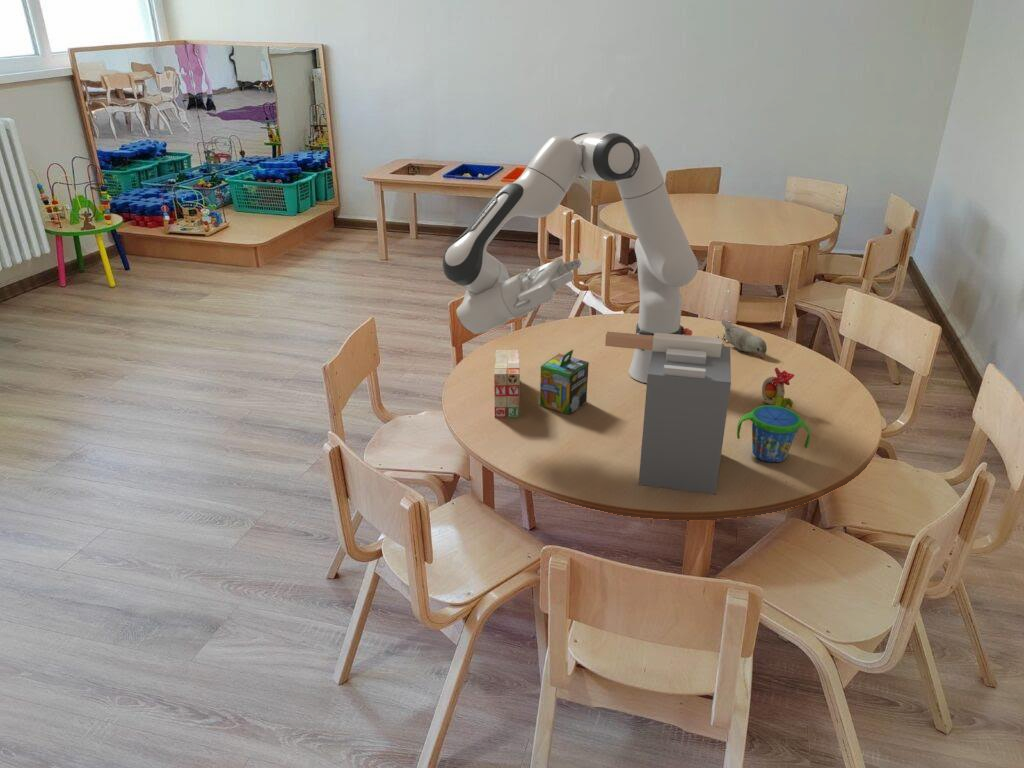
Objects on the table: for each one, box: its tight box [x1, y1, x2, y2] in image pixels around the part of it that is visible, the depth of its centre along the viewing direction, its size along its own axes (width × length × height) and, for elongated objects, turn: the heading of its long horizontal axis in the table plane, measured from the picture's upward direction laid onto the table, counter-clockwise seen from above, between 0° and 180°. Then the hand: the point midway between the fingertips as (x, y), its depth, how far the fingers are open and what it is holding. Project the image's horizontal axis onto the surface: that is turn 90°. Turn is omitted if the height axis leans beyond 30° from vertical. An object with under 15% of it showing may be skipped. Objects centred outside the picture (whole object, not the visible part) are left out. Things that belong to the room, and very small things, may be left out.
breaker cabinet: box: [638, 345, 732, 496], centre depth 164 cm, size 16×18×28 cm
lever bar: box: [604, 331, 723, 357], centre depth 164 cm, size 24×3×3 cm, turn 76°
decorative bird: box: [716, 319, 768, 359], centre depth 227 cm, size 5×16×8 cm, turn 39°
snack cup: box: [736, 404, 811, 463], centre depth 173 cm, size 16×10×10 cm
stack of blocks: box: [493, 349, 521, 418], centre depth 198 cm, size 21×6×12 cm, turn 0°
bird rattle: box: [761, 366, 795, 409], centre depth 194 cm, size 6×11×9 cm
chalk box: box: [539, 349, 590, 416], centre depth 195 cm, size 9×9×15 cm
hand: (576, 268), depth 168 cm, fingers open, 8 cm apart
